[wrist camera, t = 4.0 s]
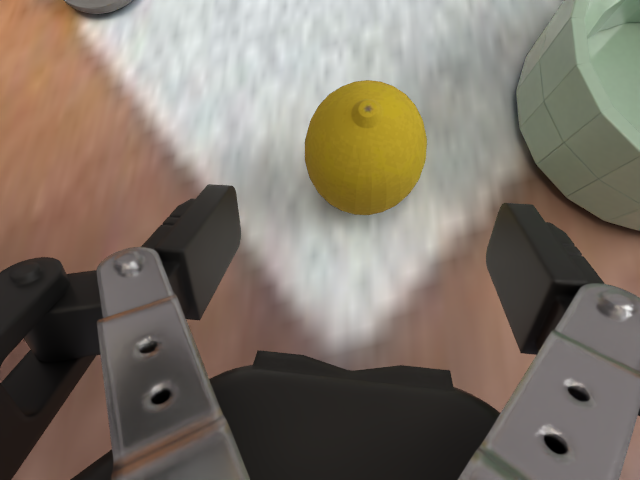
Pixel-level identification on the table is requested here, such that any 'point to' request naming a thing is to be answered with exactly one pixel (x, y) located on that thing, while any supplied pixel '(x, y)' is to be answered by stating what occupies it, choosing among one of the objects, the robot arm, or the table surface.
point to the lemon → (365, 147)
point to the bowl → (587, 106)
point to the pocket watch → (97, 5)
